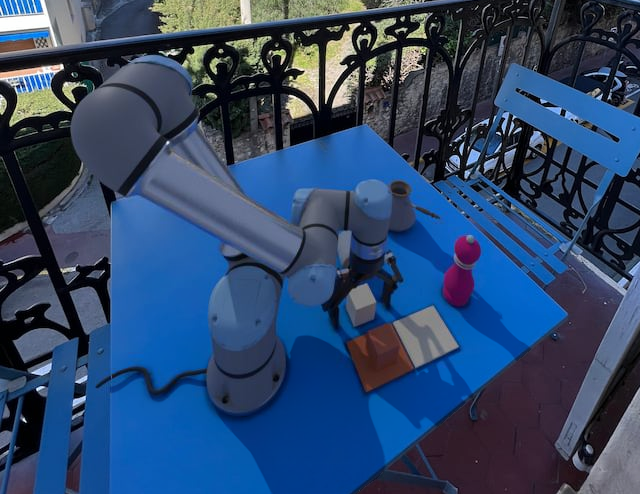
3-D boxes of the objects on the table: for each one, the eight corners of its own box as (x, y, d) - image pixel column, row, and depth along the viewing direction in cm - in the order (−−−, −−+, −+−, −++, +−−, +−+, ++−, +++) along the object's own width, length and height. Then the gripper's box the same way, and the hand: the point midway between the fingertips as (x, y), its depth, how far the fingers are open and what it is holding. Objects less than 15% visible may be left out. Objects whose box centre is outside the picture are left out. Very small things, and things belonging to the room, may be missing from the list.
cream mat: (415, 368, 84) (416, 367, 83) (392, 323, 92) (393, 322, 91) (458, 347, 88) (458, 346, 88) (433, 306, 96) (433, 305, 96)
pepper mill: (435, 285, 101) (448, 227, 93) (459, 278, 104) (474, 220, 95) (450, 312, 95) (466, 253, 87) (476, 303, 98) (494, 245, 89)
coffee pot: (368, 216, 120) (372, 176, 114) (397, 201, 126) (403, 163, 120) (416, 270, 105) (424, 228, 98) (446, 250, 111) (456, 210, 105)
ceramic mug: (341, 278, 101) (344, 256, 98) (333, 251, 108) (335, 230, 105) (381, 269, 104) (384, 248, 101) (371, 244, 111) (374, 223, 108)
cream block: (354, 327, 90) (356, 310, 88) (345, 307, 94) (347, 290, 92) (374, 319, 92) (376, 302, 90) (365, 299, 96) (367, 282, 94)
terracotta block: (375, 372, 82) (378, 355, 79) (365, 348, 86) (367, 331, 83) (396, 362, 84) (400, 345, 81) (385, 339, 88) (388, 322, 85)
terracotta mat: (365, 393, 79) (365, 391, 79) (346, 343, 87) (346, 342, 87) (413, 369, 83) (413, 368, 83) (390, 324, 91) (391, 323, 91)
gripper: (318, 281, 76) (315, 349, 85) (427, 243, 86) (413, 308, 95) (306, 249, 82) (304, 316, 91) (409, 218, 92) (398, 281, 101)
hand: (360, 312), depth 93 cm, fingers open, 12 cm apart
